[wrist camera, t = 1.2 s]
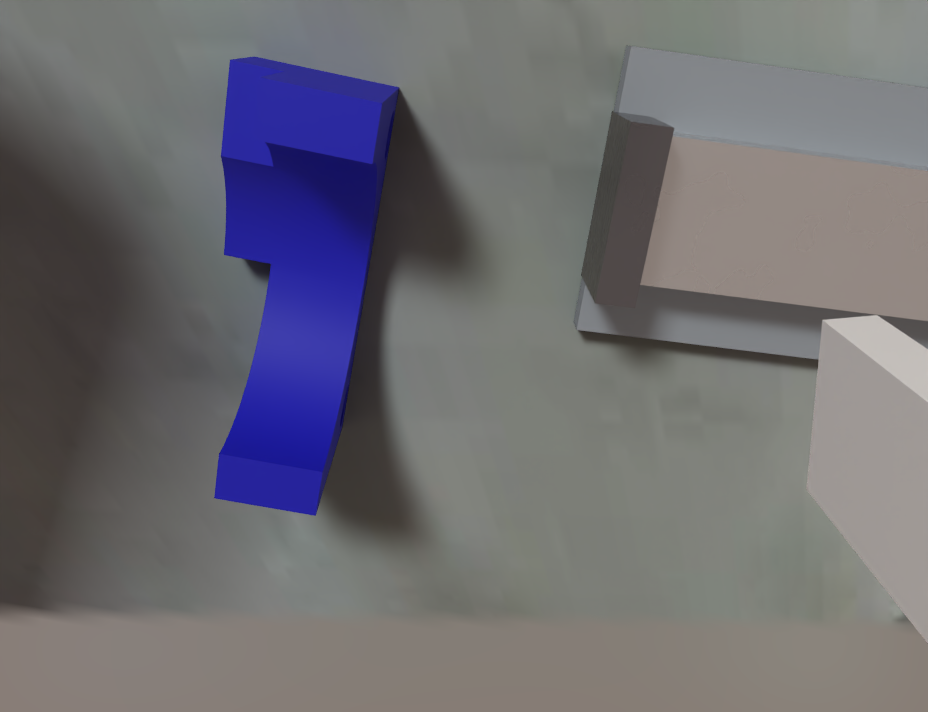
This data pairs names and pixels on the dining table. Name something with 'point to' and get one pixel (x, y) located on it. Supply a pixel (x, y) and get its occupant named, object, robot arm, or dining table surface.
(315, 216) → the cable clip
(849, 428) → the robot arm
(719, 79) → the mount plate
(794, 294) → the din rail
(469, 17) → the dining table surface
